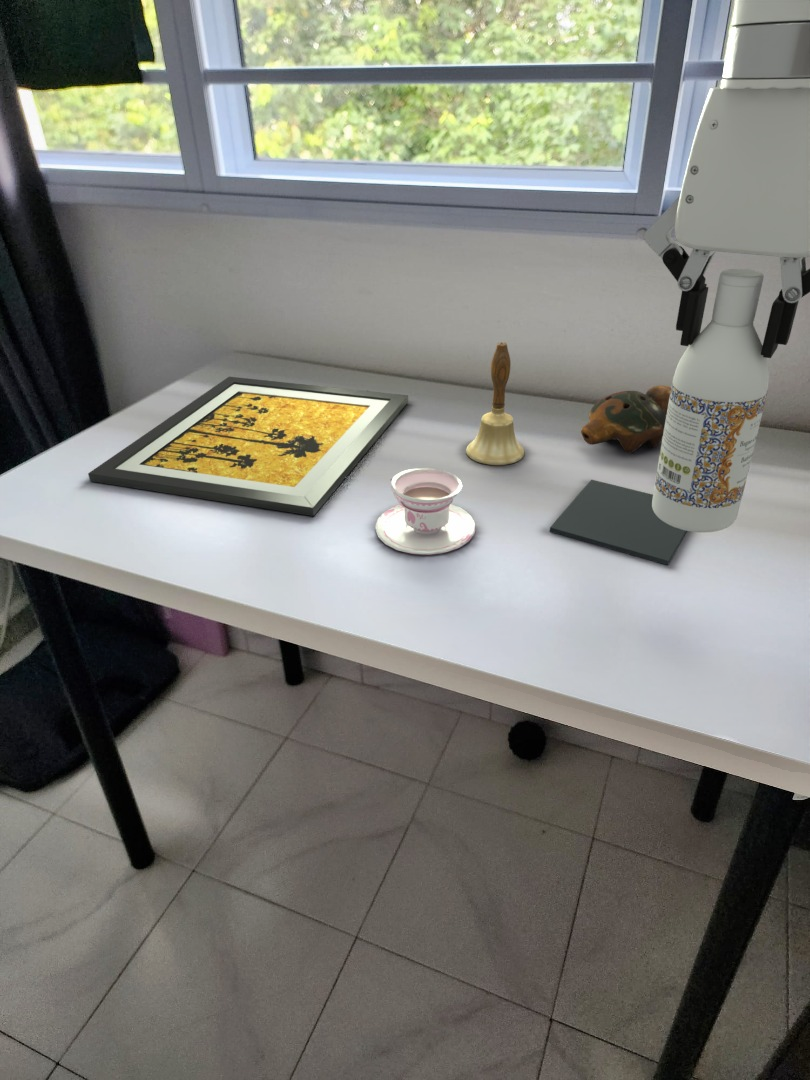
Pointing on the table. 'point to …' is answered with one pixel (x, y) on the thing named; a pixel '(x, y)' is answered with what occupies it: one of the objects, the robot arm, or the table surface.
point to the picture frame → (257, 444)
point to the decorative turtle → (629, 418)
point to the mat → (619, 522)
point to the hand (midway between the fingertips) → (728, 344)
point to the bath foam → (714, 413)
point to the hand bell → (497, 420)
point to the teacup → (425, 513)
